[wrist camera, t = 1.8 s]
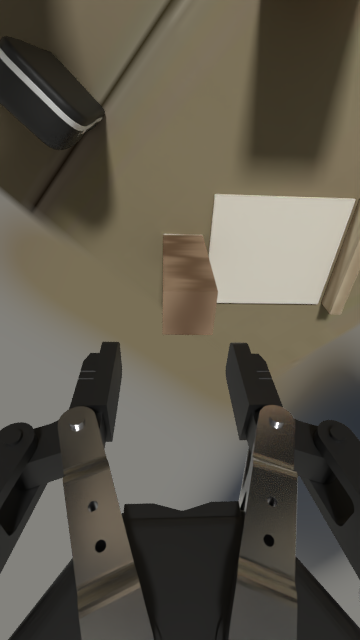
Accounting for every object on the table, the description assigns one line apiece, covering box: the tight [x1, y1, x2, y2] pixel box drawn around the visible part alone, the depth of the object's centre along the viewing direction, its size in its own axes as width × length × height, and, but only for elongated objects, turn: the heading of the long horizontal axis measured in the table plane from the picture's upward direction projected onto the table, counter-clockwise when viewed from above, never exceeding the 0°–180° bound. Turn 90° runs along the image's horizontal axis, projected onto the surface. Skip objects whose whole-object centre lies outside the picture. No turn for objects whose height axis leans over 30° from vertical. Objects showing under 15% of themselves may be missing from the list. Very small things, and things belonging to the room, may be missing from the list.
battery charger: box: [0, 36, 105, 150], centre depth 26 cm, size 7×4×11 cm, turn 44°
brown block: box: [163, 234, 218, 335], centre depth 35 cm, size 5×5×14 cm
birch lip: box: [321, 199, 360, 314], centre depth 41 cm, size 2×15×3 cm, turn 177°
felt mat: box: [208, 194, 356, 304], centre depth 41 cm, size 17×15×1 cm
